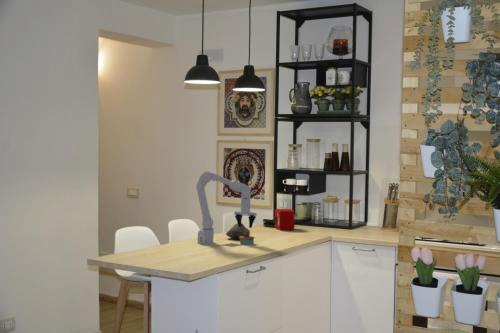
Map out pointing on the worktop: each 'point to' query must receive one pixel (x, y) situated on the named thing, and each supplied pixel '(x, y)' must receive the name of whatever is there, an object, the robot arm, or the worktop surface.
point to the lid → (246, 235)
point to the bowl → (246, 242)
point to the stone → (236, 231)
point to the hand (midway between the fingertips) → (245, 227)
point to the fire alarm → (284, 219)
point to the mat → (231, 245)
